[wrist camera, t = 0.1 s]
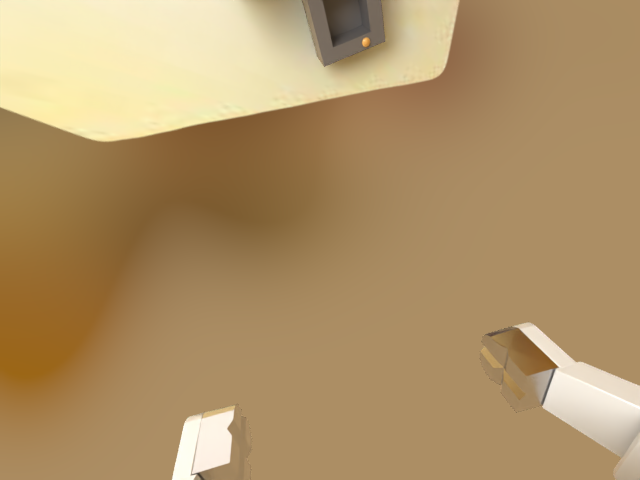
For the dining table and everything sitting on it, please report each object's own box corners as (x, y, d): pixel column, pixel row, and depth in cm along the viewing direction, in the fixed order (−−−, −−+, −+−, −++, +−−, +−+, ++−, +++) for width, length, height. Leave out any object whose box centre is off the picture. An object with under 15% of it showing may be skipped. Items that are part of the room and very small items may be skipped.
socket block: (297, -19, 42) (304, -13, 39) (363, -48, 41) (377, -45, 38) (317, 56, 50) (324, 67, 46) (374, 32, 49) (385, 41, 46)
